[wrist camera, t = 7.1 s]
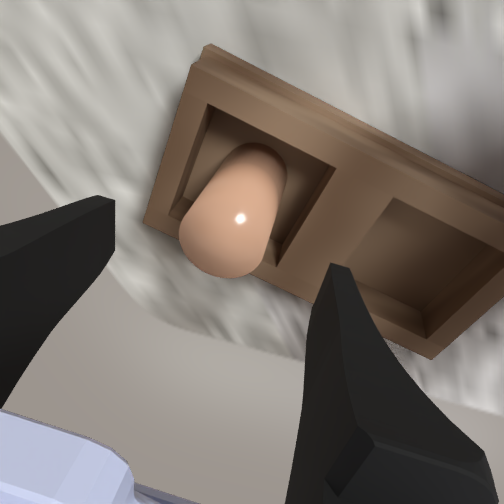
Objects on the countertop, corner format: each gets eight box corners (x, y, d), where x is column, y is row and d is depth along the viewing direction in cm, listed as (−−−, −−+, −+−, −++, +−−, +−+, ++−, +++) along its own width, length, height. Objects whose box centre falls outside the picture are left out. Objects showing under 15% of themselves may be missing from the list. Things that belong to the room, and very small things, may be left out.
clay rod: (294, 151, 18) (273, 215, 13) (279, 211, 20) (255, 287, 15) (228, 135, 18) (182, 191, 13) (218, 195, 20) (175, 265, 15)
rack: (538, 212, 18) (566, 248, 16) (423, 323, 23) (432, 365, 20) (210, 43, 17) (186, 54, 15) (160, 196, 22) (136, 224, 19)
